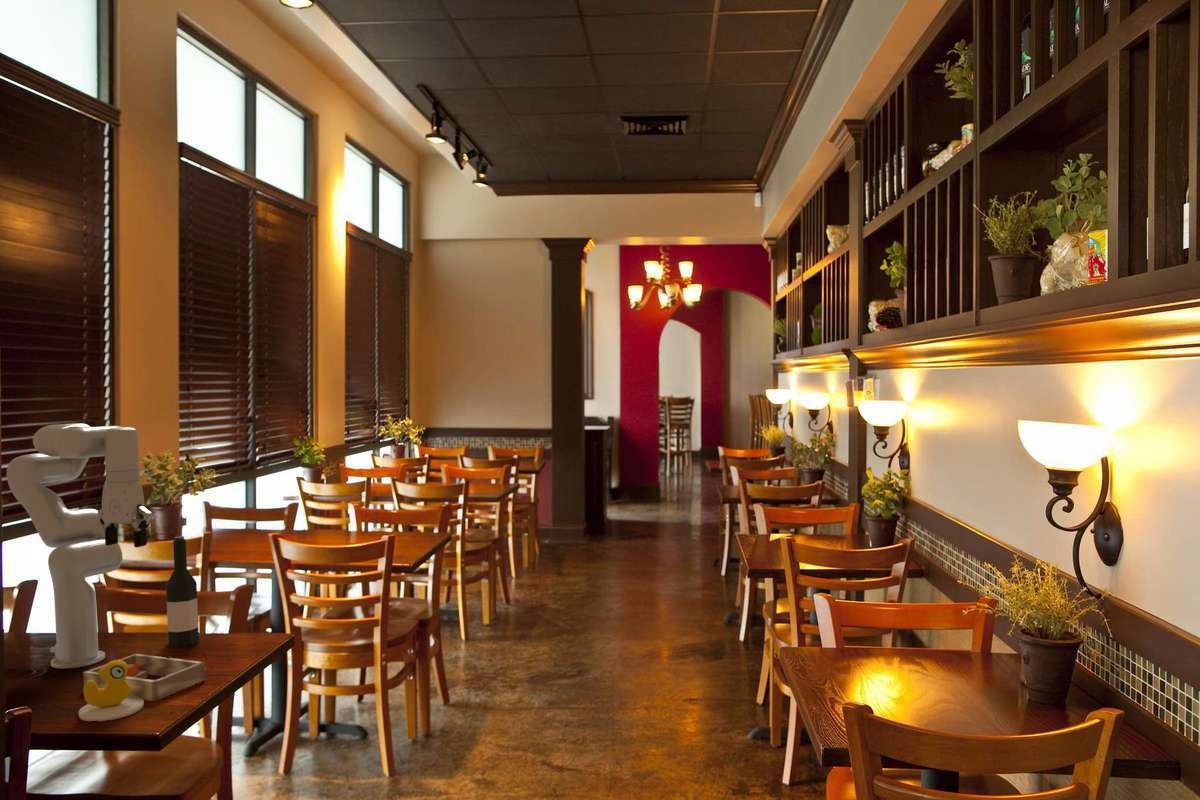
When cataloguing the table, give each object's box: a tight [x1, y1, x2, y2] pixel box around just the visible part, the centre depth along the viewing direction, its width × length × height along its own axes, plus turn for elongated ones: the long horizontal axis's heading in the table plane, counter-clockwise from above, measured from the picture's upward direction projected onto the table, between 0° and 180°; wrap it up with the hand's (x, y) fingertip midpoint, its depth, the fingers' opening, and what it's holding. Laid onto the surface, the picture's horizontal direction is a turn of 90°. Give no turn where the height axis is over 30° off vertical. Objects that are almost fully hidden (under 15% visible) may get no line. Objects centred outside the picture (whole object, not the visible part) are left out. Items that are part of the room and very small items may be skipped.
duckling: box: [82, 659, 139, 707], centre depth 208 cm, size 11×5×10 cm, turn 123°
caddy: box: [82, 653, 206, 702], centre depth 224 cm, size 23×15×4 cm, turn 68°
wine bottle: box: [165, 535, 200, 647], centre depth 259 cm, size 8×8×30 cm
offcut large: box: [132, 671, 148, 679], centre depth 226 cm, size 5×9×2 cm, turn 164°
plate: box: [78, 696, 145, 722], centre depth 207 cm, size 13×13×1 cm
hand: (126, 545), depth 229 cm, fingers open, 9 cm apart
